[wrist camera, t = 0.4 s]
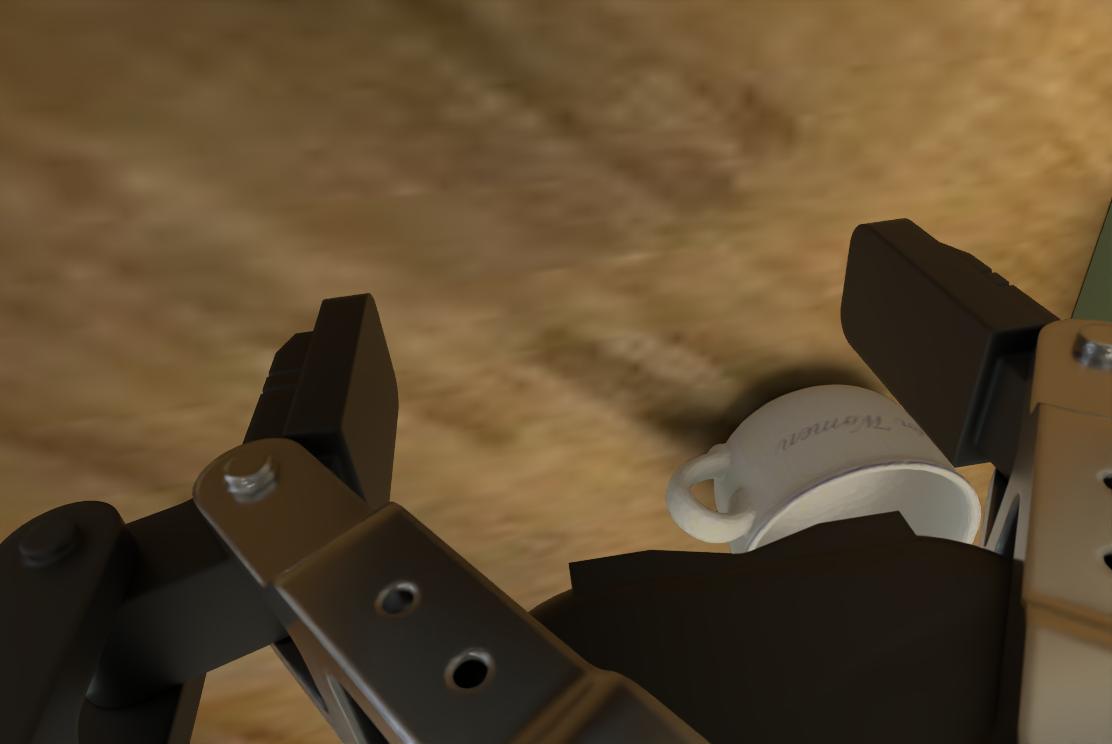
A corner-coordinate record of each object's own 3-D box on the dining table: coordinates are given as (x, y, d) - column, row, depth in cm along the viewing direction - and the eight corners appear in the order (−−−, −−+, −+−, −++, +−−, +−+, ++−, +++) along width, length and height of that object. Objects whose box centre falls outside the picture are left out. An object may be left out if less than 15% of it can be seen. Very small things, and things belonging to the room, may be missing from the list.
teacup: (935, 394, 38) (1036, 503, 31) (810, 534, 43) (875, 653, 36) (716, 303, 33) (780, 409, 27) (604, 472, 38) (636, 595, 32)
